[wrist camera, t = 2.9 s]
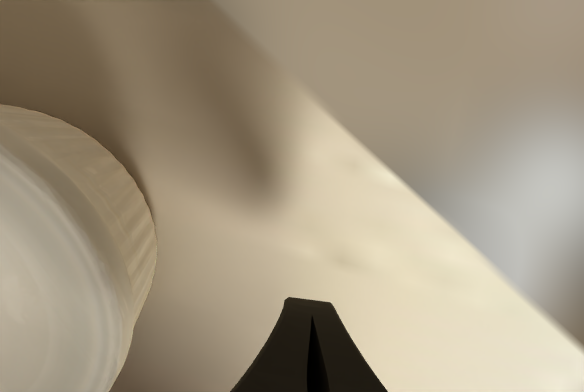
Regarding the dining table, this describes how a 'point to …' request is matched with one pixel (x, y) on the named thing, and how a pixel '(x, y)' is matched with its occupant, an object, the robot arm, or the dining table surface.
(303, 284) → the dining table surface
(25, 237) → the ramekin
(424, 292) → the dining table surface
